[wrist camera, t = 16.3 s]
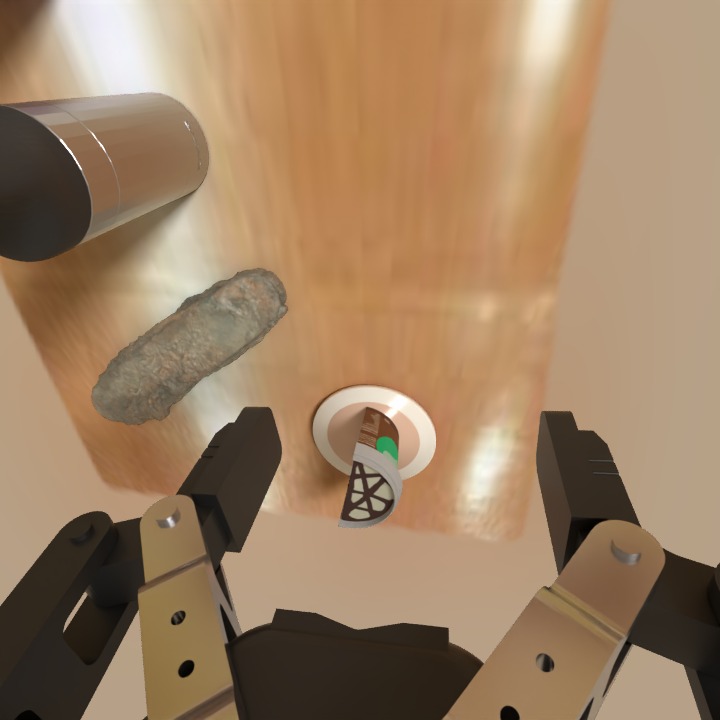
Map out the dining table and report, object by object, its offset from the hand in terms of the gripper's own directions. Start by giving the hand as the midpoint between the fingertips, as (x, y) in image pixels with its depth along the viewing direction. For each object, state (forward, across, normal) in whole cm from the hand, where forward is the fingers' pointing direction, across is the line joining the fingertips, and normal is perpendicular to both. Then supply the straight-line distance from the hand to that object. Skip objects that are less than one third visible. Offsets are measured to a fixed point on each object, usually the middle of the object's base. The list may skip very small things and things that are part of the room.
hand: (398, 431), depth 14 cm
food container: (+33, +8, +30) cm, 45 cm away
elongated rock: (+35, +32, +17) cm, 50 cm away
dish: (+34, +9, +30) cm, 46 cm away
